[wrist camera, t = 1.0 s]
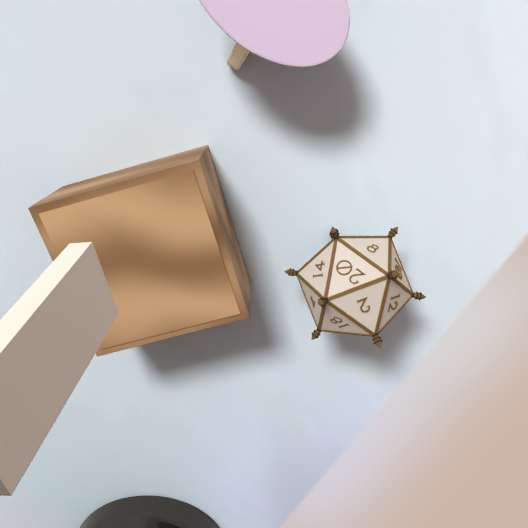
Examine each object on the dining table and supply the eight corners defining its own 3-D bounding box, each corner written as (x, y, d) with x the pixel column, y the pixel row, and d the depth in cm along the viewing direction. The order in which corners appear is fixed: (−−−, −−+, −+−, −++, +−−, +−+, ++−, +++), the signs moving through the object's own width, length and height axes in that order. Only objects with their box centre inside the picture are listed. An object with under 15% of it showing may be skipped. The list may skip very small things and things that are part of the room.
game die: (314, 254, 43) (241, 283, 35) (386, 188, 38) (318, 206, 30) (379, 340, 41) (317, 392, 33) (464, 284, 36) (414, 330, 28)
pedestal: (250, 282, 39) (249, 318, 34) (118, 316, 40) (96, 357, 35) (207, 145, 35) (198, 159, 30) (62, 186, 36) (27, 208, 31)
